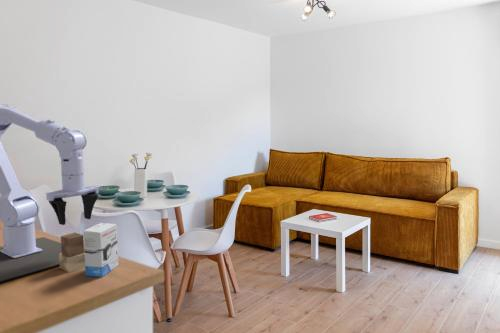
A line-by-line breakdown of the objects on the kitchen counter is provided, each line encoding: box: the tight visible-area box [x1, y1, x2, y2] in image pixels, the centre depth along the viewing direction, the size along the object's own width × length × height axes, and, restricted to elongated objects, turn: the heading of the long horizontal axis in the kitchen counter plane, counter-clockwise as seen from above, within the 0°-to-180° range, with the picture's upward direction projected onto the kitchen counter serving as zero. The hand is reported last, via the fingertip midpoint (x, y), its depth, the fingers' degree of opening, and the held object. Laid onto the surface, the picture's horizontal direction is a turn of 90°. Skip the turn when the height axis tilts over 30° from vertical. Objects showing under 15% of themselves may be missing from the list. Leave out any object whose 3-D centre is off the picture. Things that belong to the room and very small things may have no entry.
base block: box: [58, 252, 85, 273], centre depth 107 cm, size 5×5×4 cm
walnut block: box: [60, 232, 84, 257], centre depth 106 cm, size 4×4×5 cm
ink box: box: [83, 222, 119, 278], centre depth 105 cm, size 8×5×12 cm, turn 168°
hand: (75, 221), depth 114 cm, fingers open, 7 cm apart
